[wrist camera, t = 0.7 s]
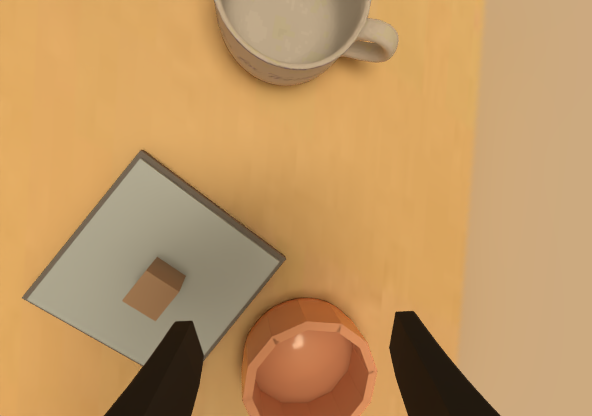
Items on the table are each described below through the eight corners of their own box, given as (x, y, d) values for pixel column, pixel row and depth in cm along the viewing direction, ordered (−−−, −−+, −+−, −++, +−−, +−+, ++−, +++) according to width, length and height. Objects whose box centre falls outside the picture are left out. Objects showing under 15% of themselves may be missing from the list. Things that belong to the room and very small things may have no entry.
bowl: (307, 422, 35) (319, 465, 30) (218, 368, 32) (215, 406, 27) (377, 337, 35) (400, 366, 30) (293, 275, 32) (304, 296, 27)
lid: (180, 381, 31) (172, 414, 27) (30, 296, 27) (-5, 320, 23) (278, 259, 31) (285, 275, 27) (142, 158, 27) (126, 158, 23)
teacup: (192, 44, 27) (175, -1, 19) (259, -69, 27) (268, -161, 19) (325, 135, 30) (357, 128, 23) (386, 36, 30) (439, -6, 22)
